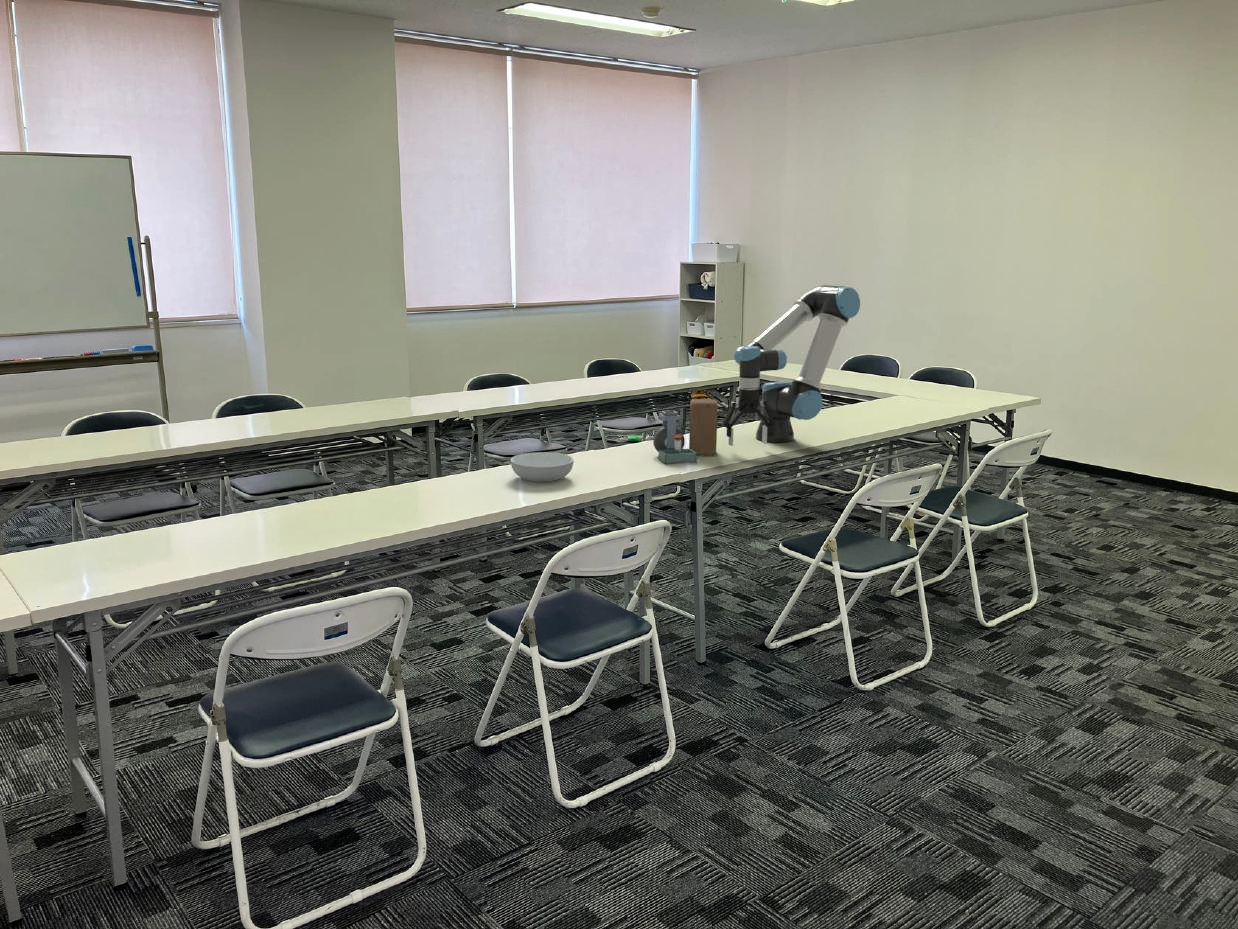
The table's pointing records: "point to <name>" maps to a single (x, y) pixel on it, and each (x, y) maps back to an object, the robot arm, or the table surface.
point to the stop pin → (677, 443)
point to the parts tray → (677, 456)
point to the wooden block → (703, 426)
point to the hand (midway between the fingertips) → (747, 444)
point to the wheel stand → (667, 431)
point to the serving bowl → (542, 466)
